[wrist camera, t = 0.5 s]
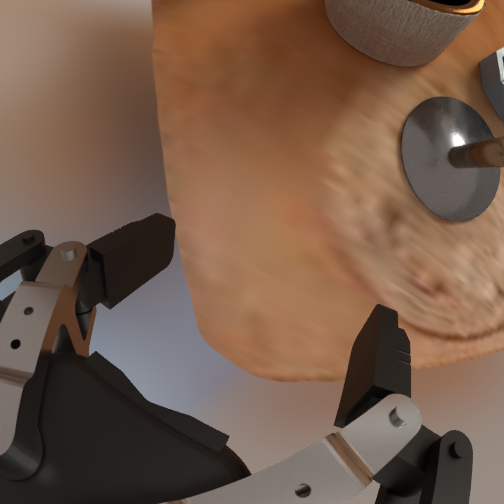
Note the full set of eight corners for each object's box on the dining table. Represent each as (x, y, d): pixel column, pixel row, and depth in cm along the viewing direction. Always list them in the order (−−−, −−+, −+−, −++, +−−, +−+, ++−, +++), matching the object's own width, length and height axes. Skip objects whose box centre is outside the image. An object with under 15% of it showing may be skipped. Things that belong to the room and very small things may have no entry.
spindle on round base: (403, 82, 28) (439, 43, 15) (498, 121, 25) (550, 109, 13) (392, 205, 32) (432, 217, 20) (488, 231, 29) (542, 253, 17)
